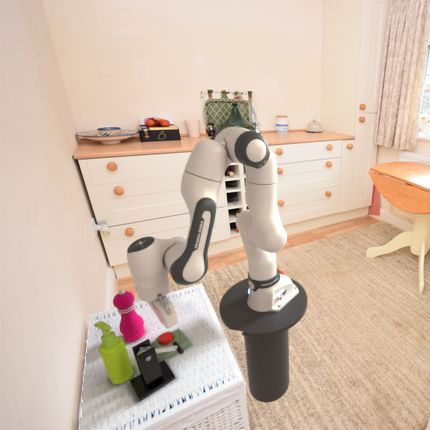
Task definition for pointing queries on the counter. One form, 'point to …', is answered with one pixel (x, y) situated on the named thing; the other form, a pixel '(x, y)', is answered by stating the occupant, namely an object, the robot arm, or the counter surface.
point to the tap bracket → (149, 372)
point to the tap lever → (163, 349)
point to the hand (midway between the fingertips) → (163, 321)
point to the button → (165, 338)
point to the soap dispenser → (114, 355)
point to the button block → (171, 344)
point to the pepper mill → (128, 316)
